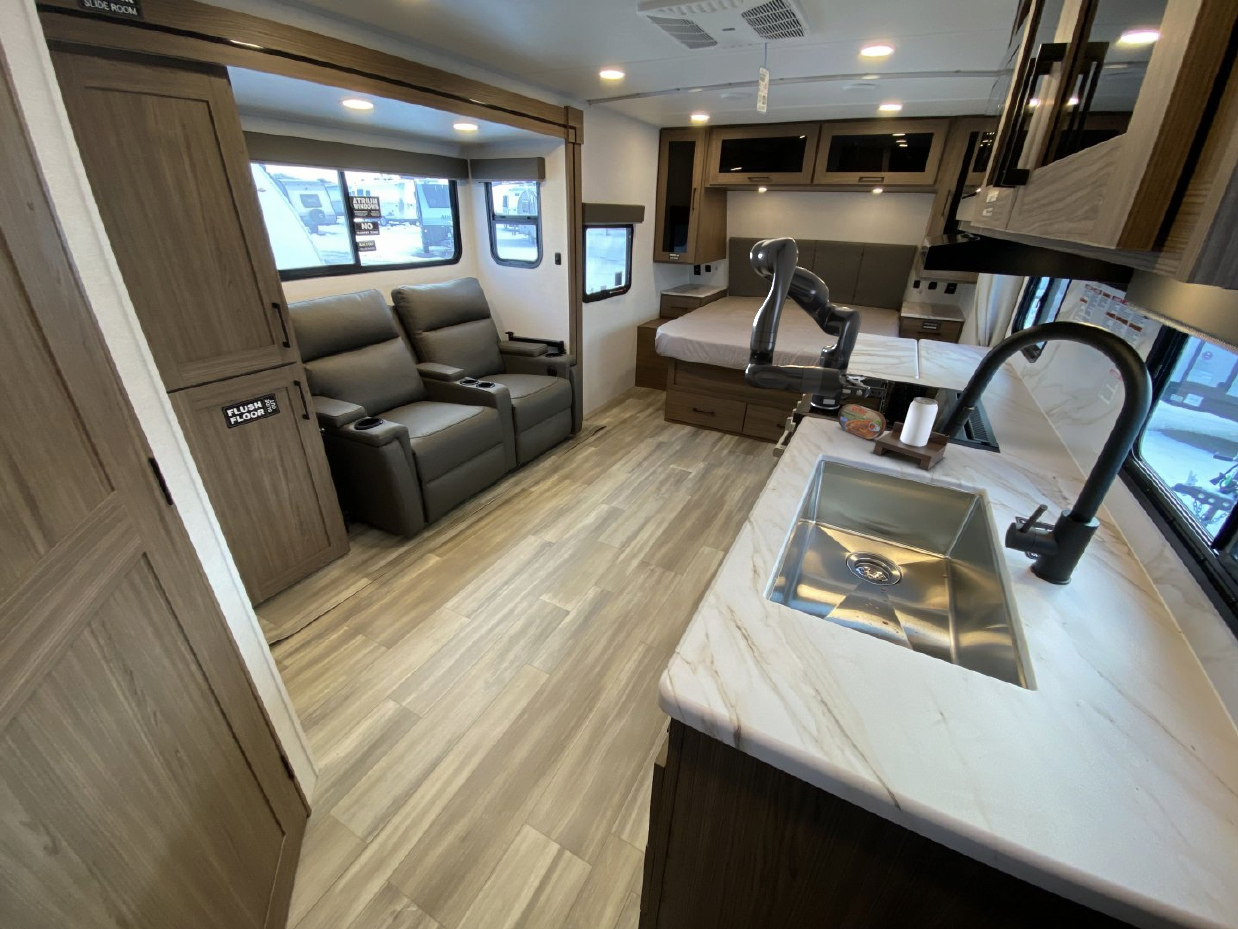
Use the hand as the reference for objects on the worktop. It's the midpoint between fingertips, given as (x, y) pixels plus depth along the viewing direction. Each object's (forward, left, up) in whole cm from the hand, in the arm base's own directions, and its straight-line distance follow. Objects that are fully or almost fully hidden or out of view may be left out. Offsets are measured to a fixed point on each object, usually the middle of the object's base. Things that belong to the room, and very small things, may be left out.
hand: (882, 388), depth 132 cm
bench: (-5, +9, -18) cm, 21 cm away
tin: (-10, -7, -18) cm, 22 cm away
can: (-5, +10, -14) cm, 18 cm away
